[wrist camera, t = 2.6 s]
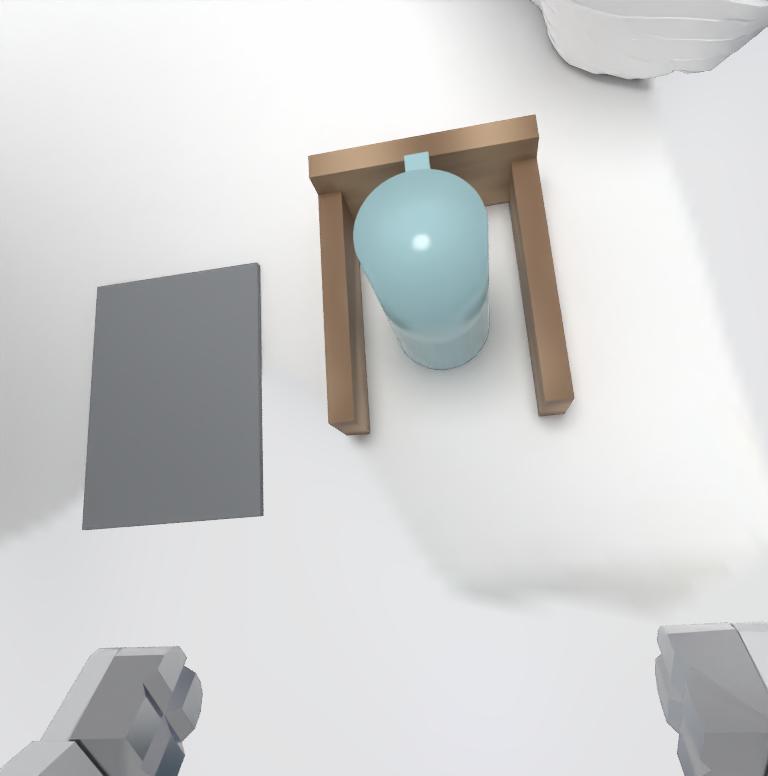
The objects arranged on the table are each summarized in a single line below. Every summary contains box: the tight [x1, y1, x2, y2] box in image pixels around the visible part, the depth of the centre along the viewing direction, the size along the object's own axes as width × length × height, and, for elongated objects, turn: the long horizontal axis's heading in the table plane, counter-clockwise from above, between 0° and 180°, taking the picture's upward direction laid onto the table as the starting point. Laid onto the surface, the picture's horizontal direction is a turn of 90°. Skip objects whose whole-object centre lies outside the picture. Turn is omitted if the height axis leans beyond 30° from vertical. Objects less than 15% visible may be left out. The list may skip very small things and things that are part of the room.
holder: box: [308, 115, 574, 435], centre depth 28 cm, size 11×13×5 cm
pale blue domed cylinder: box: [353, 152, 489, 370], centre depth 25 cm, size 5×7×10 cm
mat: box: [82, 263, 263, 530], centre depth 31 cm, size 10×14×1 cm
